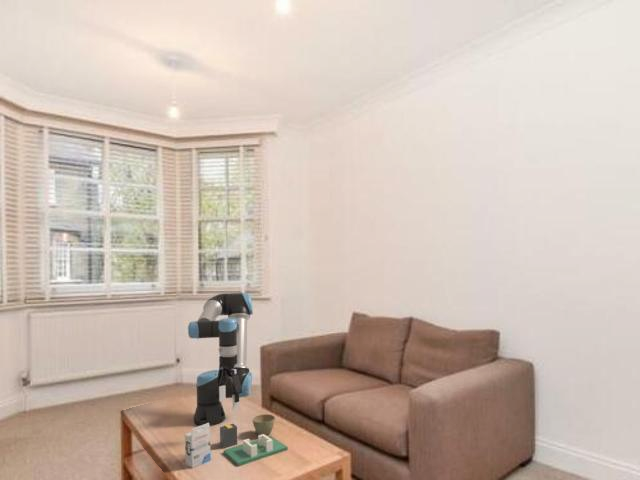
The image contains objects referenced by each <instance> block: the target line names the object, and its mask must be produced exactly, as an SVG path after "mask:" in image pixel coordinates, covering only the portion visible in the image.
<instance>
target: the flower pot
mask: <svg viewBox="0 0 640 480" xmlns="http://www.w3.org/2000/svg"><path fill="white" fill-rule="evenodd" d="M275 421H276V417H275V416H274V415H272V414H266V413H265V414H259V415H258V414H257V415H256V416H253V417H252V424H253V428H254V430H255V431H256V434H257V436H259V435H262V434H264V435H266V436H267V437H268V436H269V435H270V434H271V433H272V431H273V429H274V426H275Z"/></svg>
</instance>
